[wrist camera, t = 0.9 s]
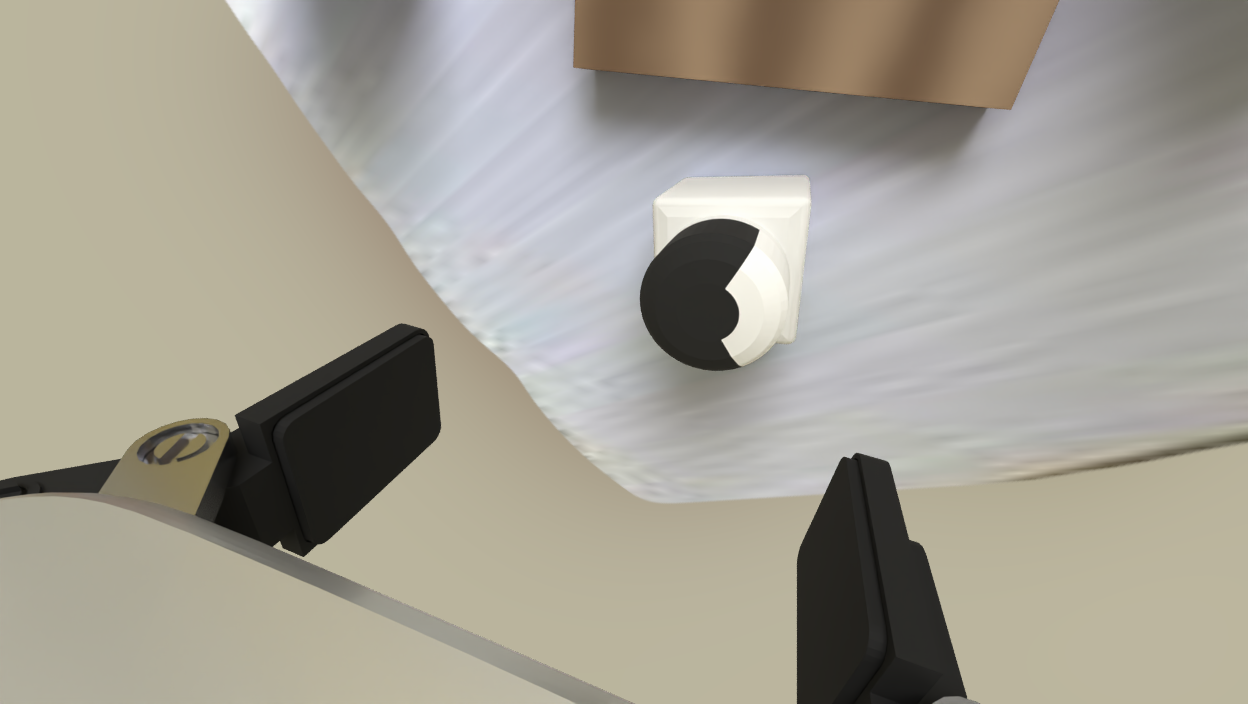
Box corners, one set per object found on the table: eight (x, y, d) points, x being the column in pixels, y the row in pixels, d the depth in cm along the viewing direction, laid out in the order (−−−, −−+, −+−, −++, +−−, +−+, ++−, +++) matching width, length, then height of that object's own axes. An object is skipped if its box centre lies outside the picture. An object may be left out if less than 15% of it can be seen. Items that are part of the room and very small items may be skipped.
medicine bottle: (683, 289, 32) (627, 380, 22) (682, 176, 28) (616, 221, 18) (796, 296, 29) (793, 400, 19) (810, 173, 26) (814, 223, 16)
